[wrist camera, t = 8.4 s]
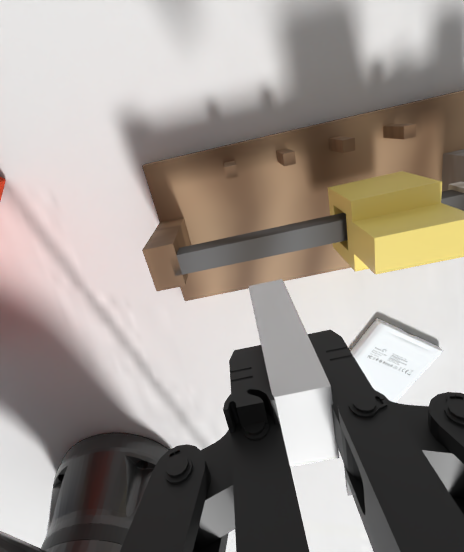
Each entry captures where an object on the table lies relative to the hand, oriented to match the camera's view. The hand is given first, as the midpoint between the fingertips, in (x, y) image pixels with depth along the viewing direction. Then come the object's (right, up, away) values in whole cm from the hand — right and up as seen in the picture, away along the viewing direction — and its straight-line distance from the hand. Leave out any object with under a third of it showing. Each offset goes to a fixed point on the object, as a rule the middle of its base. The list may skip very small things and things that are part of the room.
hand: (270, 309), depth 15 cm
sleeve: (+8, +6, +8) cm, 13 cm away
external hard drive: (+14, -9, +22) cm, 27 cm away
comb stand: (+5, +8, +13) cm, 16 cm away
